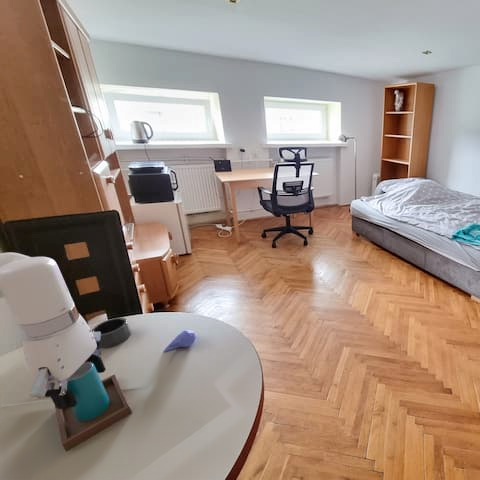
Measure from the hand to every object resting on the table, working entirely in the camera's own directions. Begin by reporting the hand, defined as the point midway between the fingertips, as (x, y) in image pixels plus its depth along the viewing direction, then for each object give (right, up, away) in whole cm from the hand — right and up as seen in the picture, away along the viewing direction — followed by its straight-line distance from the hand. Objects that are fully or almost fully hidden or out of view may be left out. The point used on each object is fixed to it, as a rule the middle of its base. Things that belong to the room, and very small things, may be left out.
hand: (83, 388), depth 61 cm
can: (0, -6, +2) cm, 7 cm away
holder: (-14, +2, +24) cm, 28 cm away
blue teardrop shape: (+8, +1, +22) cm, 23 cm away
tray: (0, -7, +3) cm, 7 cm away
